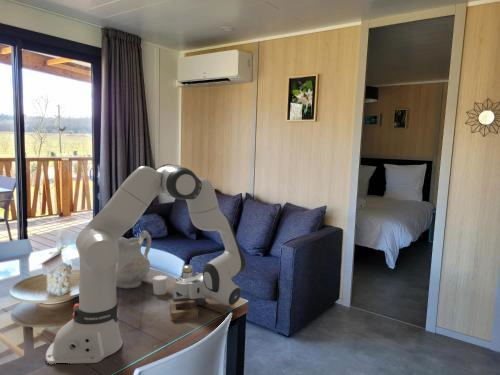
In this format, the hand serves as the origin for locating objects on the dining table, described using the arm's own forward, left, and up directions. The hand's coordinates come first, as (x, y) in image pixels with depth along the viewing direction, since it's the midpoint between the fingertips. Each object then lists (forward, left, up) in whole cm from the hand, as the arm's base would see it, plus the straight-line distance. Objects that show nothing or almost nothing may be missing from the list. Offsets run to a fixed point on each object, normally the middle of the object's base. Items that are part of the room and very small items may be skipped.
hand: (186, 277), depth 159 cm
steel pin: (0, -1, -9) cm, 9 cm away
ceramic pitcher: (-24, +24, -10) cm, 35 cm away
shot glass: (-11, +10, -10) cm, 18 cm away
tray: (0, -1, -10) cm, 10 cm away
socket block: (-3, -14, -10) cm, 17 cm away
